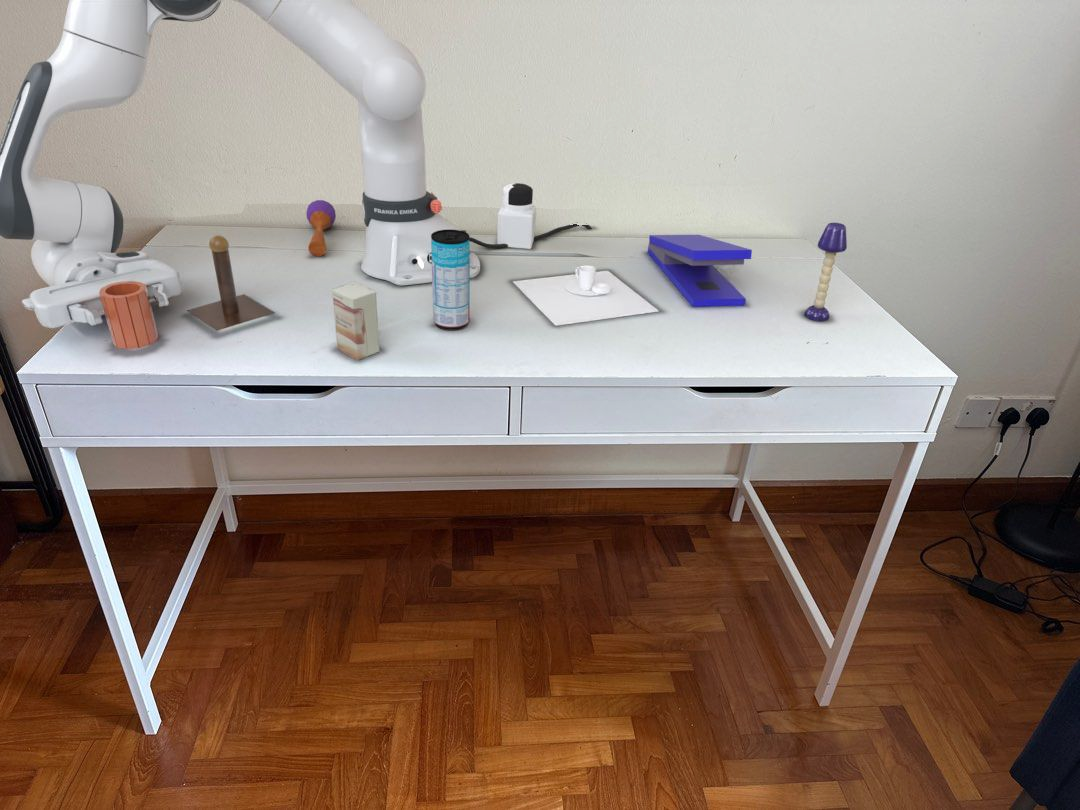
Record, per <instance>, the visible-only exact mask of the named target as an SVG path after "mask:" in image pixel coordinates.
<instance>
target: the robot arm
mask: <svg viewBox="0 0 1080 810" xmlns="http://www.w3.org/2000/svg"><path fill="white" fill-rule="evenodd" d="M233 1H235V2H237V3H239V4H241V5H243V6H244V7H246V8H247V9H249V10H250V11H252V12H253V13H254V14H255V15H257V16H258V17H259V18H260V19H262V20H263V21H264V22H265V23H267V24H268V25H269V26H270V27H271V28H273V29H274V30H275V31H276V32H277V33H279V34H280V35H281V36H282V37H284V38H285V39H286V40H287V41H289V42H290V43H291V44H293V45H294V46H295V47H296V48H297V49H299V50H300V51H302V53H304V54H305V55H306V56H308V57H309V58H310V59H311V60H312V61H313V62H315V64H316V65H318V66H319V67H320V68H321V69H322V70H323V71H324V72H325V73H326V74H327V75H329V76H330V77H331V79H333V80H334V81H335V82H336V83H337V84H338V85H339V86H341V87H342V88H343V89H344V90H345V91H346V92H348V94H349V95H351V96H352V97H353V98H354V99H355V100H357V108H358V121H359V123H358V124H359V134H360V135H359V137H360V149H361V161H362V164H361V165H362V176H363V177H362V178H363V187H364V188H363V190H364V191H363V192H362V199H361V206H362V207H361V209H362V219H363V221H364V225H365V236H364V238H365V240H364V250H363V256H362V261H361V265H360V269H361V271H362V272H363V273H364V274H366V275H368V276H370V277H372V278H375V279H379V280H383V281H387V282H390V283H392V284H393V285H397V286H402V287H403V286H412V285H421V284H427V283H428V284H429V283H430V284H431V283H432V254H431V234H432V233H434V232H436V231H439V230H448V229H451V230H460V231H464V232H466V233H467V230H465V229H460V227H458V226H457V225H455V224H454V223H453V222H452V221H450V220H449V219H447V218H446V217H444V216H443V215H442V214H441V212H442V211H443V205H442V203H441V201H440V200H439V199H438V197H437V196H435V194H434V193H433V191H432V192H429V191H428V190H427V173H426V146H425V136H424V135H425V134H424V125H423V110H422V104H423V102H424V99H425V96H426V91H427V84H426V83H427V81H426V77H425V73H424V71H423V68H422V67H421V65H420V63H419V62H418V59H417V57H416V56H415V55H414V53H413V52H412V51H411V49H410V48H409V47H407V45H406V44H404V43H402V42H400V41H399V40H398V39H397V40H396V39H394V38H392V37H391V36H390V35H389V34H388V33H387V32H386V31H385V30H383V29H382V28H381V26H379V25H378V24H377V23H376V22H375V21H374V20H372V19H371V17H370V16H368V15H367V14H366V13H365V11H363V10H362V9H360V8H359V6H357V5H356V3H354V2H353V1H352V0H233ZM221 3H222V0H68V3H67V8H66V12H65V18H64V23H63V31H62V34H61V38H60V41H59V44H58V46H57V47H56V49H55V50H54V52H53V53H52V54H51V55H50V57H49V58H47V60H44V61H39V62H35V63H34V64H33V65H32V66H31V67H30V69H29V70H28V72H27V73H26V76H25V77H24V79H23V82H22V84H21V87H20V88H19V91H18V94H17V97H16V99H15V101H14V104H13V108H12V110H11V114H10V115H9V120H8V122H7V124H6V128H5V130H4V133H3V136H2V139H1V142H0V237H2V238H3V239H6V240H23V241H33V240H34V242H33V244H32V247H31V251H30V259H31V262H32V265H33V267H34V269H35V271H36V273H37V274H38V276H39V277H40V278H41V279H42V281H44V283H46V284H47V285H48V286H46V287H41V288H38V289H35V290H33V291H32V292H30V294H29V296H28V297H27V298H24V299H22V300H21V305H22V306H23V308H25V309H26V310H29V311H34V314H35V316H36V319H37V321H38V322H39V324H40V325H41V326H42V327H43V328H47V329H56V328H59V327H62V326H63V327H64V326H66V325H71V324H74V323H84V324H87V323H88V324H89V325H90V326H92V327H93V326H96V325H100V324H103V323H104V319H102V316H105V313H104V310H103V306H102V302H101V299H100V295H99V291H100V289H101V288H103V287H105V286H106V285H109V284H113V283H117V282H123V281H131V282H132V281H135V282H141V283H143V284H145V285H146V286H147V290H148V295H149V299H150V303H153V304H154V306H156V307H157V308H162V307H166V306H169V305H170V304H169V303H170V302H169V298H173V297H176V296H180V295H181V294H182V292H183V283H182V278H181V275H180V273H179V272H178V270H176V268H174V267H172V266H170V265H169V264H167V263H165V262H163V261H161V260H159V259H155V258H149V255H148V253H146V252H145V251H126V252H117V250H118V249H119V247H120V244H121V242H122V238H123V234H124V216H123V212H122V210H121V208H120V206H119V204H118V202H117V200H116V199H115V197H114V196H113V195H112V194H111V192H110V191H108V190H107V189H106V188H105V187H103V186H97V185H91V184H87V183H83V182H77V181H72V180H71V181H69V180H63V179H58V178H52V177H47V176H42V175H37V174H34V170H35V167H36V165H37V162H38V159H39V156H40V154H41V152H42V151H41V150H42V148H43V145H44V142H45V139H46V136H47V133H48V130H49V128H50V127H51V125H52V124H53V122H54V121H55V120H57V119H58V118H59V117H61V116H63V115H66V114H68V113H72V112H78V111H83V110H84V111H85V110H94V109H105V108H107V109H108V108H111V107H116V106H119V105H121V104H124V103H126V102H128V101H130V100H131V99H133V97H135V96H136V95H137V94H138V93H139V91H140V89H141V87H142V85H143V82H144V80H145V75H146V70H147V64H148V58H149V52H150V46H151V41H152V35H153V32H154V30H155V27H156V25H157V24H158V23H159V22H160V21H161V20H162V21H177V22H178V21H180V22H190V23H191V22H192V23H193V22H200V21H203V20H206V19H208V18H210V17H211V16H212V15H213V14H215V13H216V11H218V9H219V7H220V6H221ZM572 224H573V223H572ZM576 227H580V226H579V225H577V224H573V225H570V224H567V225H563V226H559V227H556V228H554V229H552V230H550V231H547V232H544V233H541V234H539V235H535V237H534V240H533V242H536V241H538V240H539V241H540V240H543V239H545V238H548V237H551V236H552V235H555V234H556V233H559V232H562V231H566V230H570V229H574V228H576ZM581 227H584V228H586V229H587V230H592V226H591V225H589V224H588V225H582V226H581ZM469 243H473V244H475V245H478V246H480V247H482V248H486V249H504V248H505V249H506V248H509V247H508V245H507V244H497V243H495V244H493V243H486V242H483V241H481V240H479V239H477V238H474V237H472V236H469ZM480 272H481V262H480V259H479V257H478V255H476V253H475V252H473V251H472V250H470V279H473V278H476V277H477V276H478V275H479V274H480Z"/></svg>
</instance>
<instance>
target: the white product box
mask: <svg viewBox="0 0 1080 810" xmlns="http://www.w3.org/2000/svg"><path fill="white" fill-rule="evenodd" d="M331 292H332V303H333V314H334V315H333V316H334V325H335V326H334V327H335V335H336V336H335V337H336V348H337V350H338V351H339V352H341V353H343V354H344V355H346V356H348V357H350V358H352V359H354V360H356V361H360V360H362V359H365V358H367V357H370V356H372V355H374V354H377V353H379V352H380V339H379V338H380V337H379V336H380V335H379V322H378V321H379V320H378V319H379V318H378V305H377V304H378V302H377V291H376V290H374V289H372V288H370V287H369V286H366V285H364V284H361V283H359V282H356V281H351V282H348V283H346V284H345V283H344V284H343V285H339V286H337V287H334V288H332V289H331Z"/></svg>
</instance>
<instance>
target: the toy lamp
mask: <svg viewBox="0 0 1080 810" xmlns="http://www.w3.org/2000/svg"><path fill="white" fill-rule="evenodd" d="M847 239H848V238H847V226H846V225H845V224H843V223H841V222H828V223H827V225H826V226H825V228H824V230H823V232H822V234H821V236H820V238H819V240H818V242H817V248H818V249H819V250H821V251H824V258H823V261H822V264H823V266H822V267H821V274H820V276H819V282H818V284H817V291H816V292H815V299H814V302H813V305H810V306H808V307H807V308H806V309H805V311H804V313H803V315H804V317H805V318H807V319H808V320H810V321H814V322H827V321H829V319H830V312H829V310H828V309H827V308H826V307H825V305H826V298H827V296H828V290H829V287H830V284H829V283H830V282H831V279H832V277H831V275H832V273H833V270H834V269H833V268H834V267H833V266H834V265H835V258H836V257H837V253H843V252H845V251H846V250H847V248H848V247H847V246H848V243H847Z"/></svg>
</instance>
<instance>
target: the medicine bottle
mask: <svg viewBox="0 0 1080 810" xmlns="http://www.w3.org/2000/svg"><path fill="white" fill-rule="evenodd" d="M533 193H534V189H533V188H532V186H530V185H528V184H525V183H519V182H514V183H509V184H506V185H505V186H503V188H502V205H501V207H500V209H499V211H498V213H497V236H496V237H497V239H496V240H497V241H496V242H497V243H496V244H507V245H508V247H507V248H512V249H523V250H531V249H532V247H533V244H534V241H533V240H534V237H535V236H536V220H537V219H536V218H537V217H536V216H537V206H535V205H533V196H534V194H533Z"/></svg>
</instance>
